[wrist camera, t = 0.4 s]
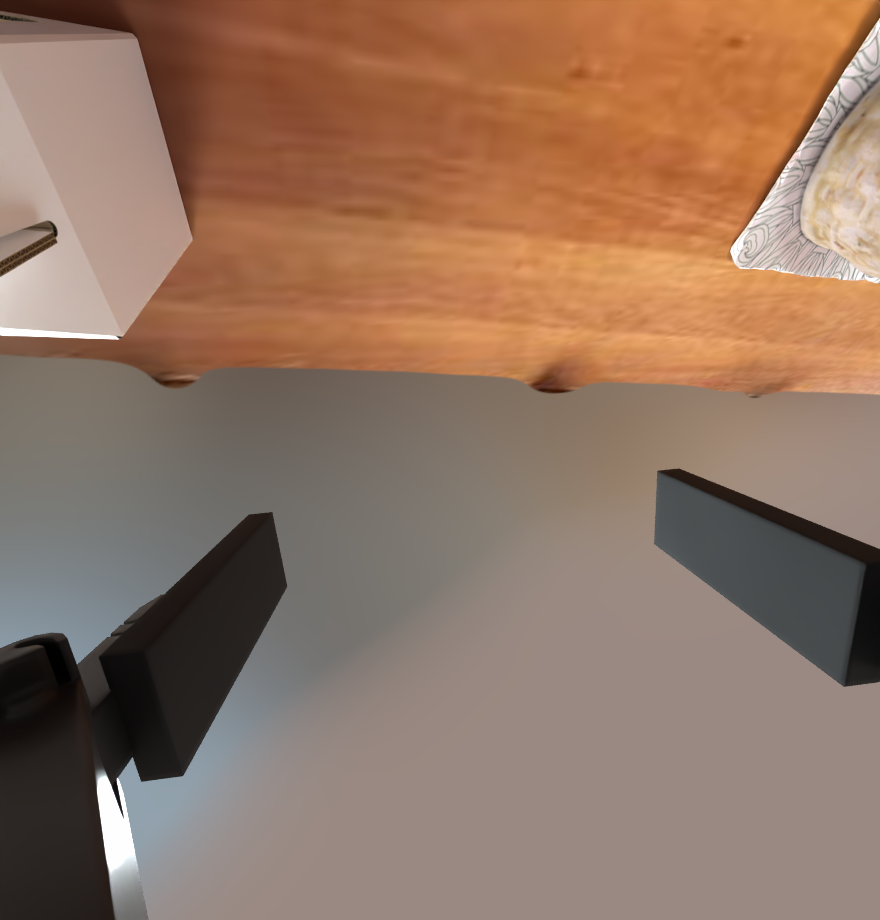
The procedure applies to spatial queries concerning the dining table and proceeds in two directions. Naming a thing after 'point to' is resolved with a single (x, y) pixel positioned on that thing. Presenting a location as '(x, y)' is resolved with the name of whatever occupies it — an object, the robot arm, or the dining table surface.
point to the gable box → (81, 182)
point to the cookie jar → (827, 188)
